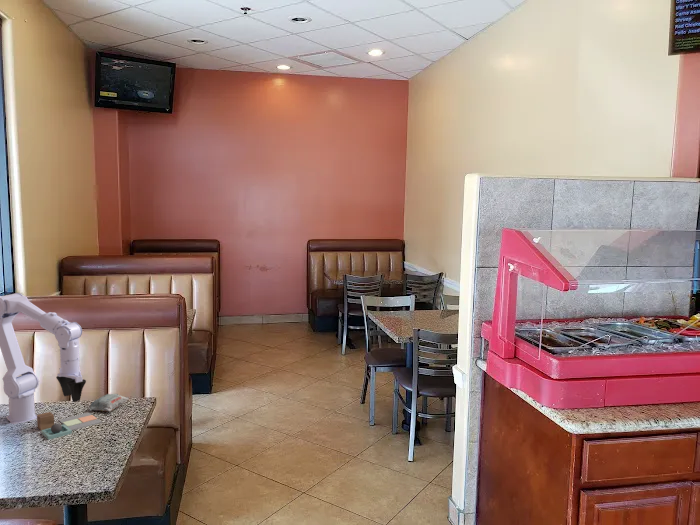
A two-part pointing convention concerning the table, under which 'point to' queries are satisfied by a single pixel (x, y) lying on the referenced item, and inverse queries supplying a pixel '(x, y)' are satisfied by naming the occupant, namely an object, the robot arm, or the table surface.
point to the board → (80, 421)
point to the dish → (63, 432)
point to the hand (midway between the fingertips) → (71, 398)
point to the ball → (56, 428)
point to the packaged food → (108, 402)
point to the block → (45, 420)
